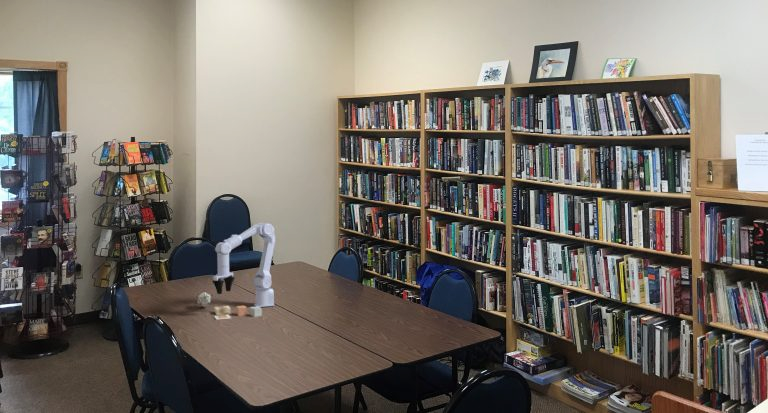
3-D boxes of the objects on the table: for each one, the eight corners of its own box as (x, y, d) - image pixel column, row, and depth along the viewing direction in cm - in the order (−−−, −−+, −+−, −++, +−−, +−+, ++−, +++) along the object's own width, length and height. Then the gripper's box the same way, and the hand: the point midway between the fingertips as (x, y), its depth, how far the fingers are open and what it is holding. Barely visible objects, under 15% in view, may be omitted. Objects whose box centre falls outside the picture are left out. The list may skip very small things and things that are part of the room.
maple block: (228, 311, 318) (228, 305, 318) (230, 314, 312) (230, 308, 311) (214, 312, 315) (214, 306, 315) (216, 315, 309) (216, 309, 309)
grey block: (256, 314, 311) (256, 306, 310) (261, 315, 307) (261, 307, 307) (249, 315, 308) (249, 307, 308) (254, 317, 304) (254, 309, 304)
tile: (228, 315, 307) (228, 314, 307) (231, 318, 301) (231, 317, 301) (214, 316, 304) (214, 315, 304) (216, 319, 298) (216, 318, 298)
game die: (207, 310, 318) (207, 291, 317) (192, 310, 320) (192, 291, 319) (215, 307, 327) (215, 288, 326) (201, 306, 328) (200, 288, 328)
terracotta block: (244, 313, 313) (244, 305, 312) (246, 315, 308) (246, 307, 308) (236, 314, 311) (236, 306, 311) (238, 316, 306) (238, 308, 306)
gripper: (225, 263, 320) (225, 289, 321) (208, 267, 306) (208, 294, 307) (236, 264, 318) (237, 290, 318) (220, 268, 304) (220, 295, 305)
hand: (223, 292), depth 313 cm, fingers open, 7 cm apart
